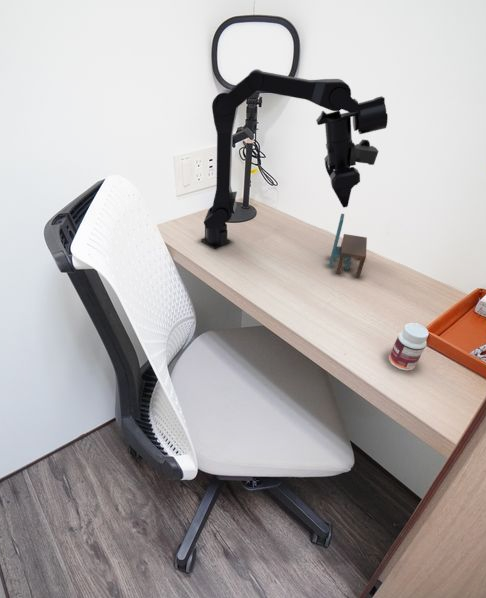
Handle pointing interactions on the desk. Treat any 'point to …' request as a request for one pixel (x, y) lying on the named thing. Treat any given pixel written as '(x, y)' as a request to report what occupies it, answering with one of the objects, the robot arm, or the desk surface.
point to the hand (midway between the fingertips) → (342, 200)
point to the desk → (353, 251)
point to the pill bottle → (409, 346)
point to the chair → (337, 249)
